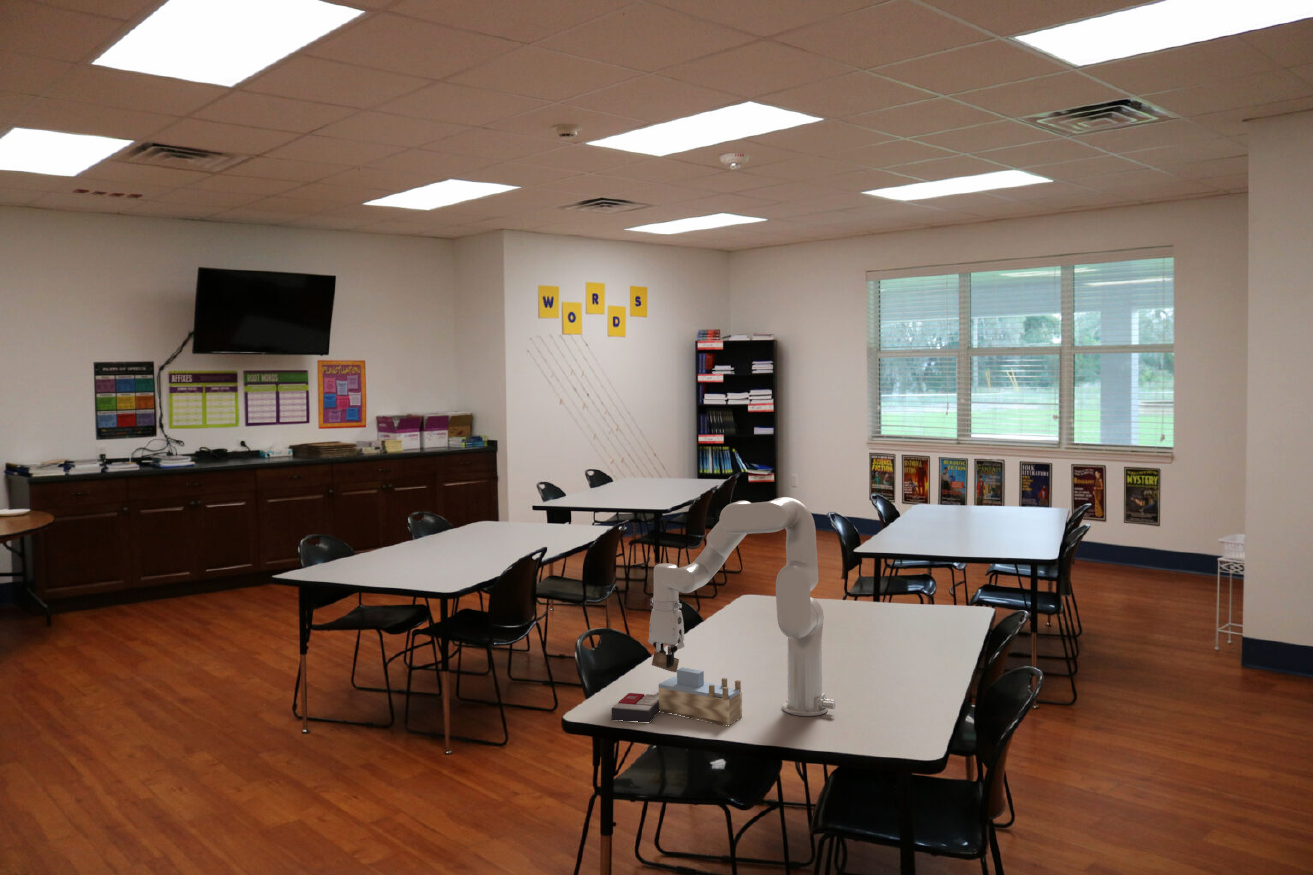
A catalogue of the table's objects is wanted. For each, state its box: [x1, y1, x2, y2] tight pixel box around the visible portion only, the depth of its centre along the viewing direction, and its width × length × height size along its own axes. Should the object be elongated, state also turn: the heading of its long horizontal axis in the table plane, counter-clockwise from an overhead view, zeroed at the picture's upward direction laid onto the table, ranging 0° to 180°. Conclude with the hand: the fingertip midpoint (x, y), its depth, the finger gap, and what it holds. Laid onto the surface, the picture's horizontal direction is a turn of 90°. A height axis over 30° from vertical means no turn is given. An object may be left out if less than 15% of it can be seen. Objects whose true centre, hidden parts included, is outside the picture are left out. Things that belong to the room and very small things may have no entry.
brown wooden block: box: [651, 651, 680, 673], centre depth 278 cm, size 2×11×4 cm, turn 147°
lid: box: [658, 667, 739, 699], centre depth 257 cm, size 22×8×5 cm, turn 57°
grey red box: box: [611, 692, 660, 722], centre depth 260 cm, size 11×4×15 cm
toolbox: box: [658, 677, 743, 727], centre depth 257 cm, size 22×8×10 cm, turn 57°
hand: (666, 665), depth 278 cm, fingers closed on brown wooden block, 2 cm apart
